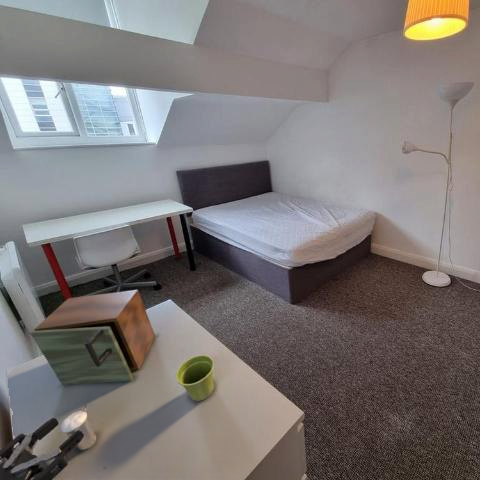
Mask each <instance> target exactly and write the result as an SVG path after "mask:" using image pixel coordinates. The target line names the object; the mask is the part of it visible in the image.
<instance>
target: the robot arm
mask: <svg viewBox="0 0 480 480" xmlns="http://www.w3.org/2000/svg"><path fill="white" fill-rule="evenodd" d="M59 424H60V422H59V420H58V418H56V417H51V418H50V419H48V420H46V421H45V422H44V423H43V424H41V426H39V427H38V428H37V429H36V430H34V431H33V432H30V433H28V434H24V433H20V434H18V435H17V436H16V437H14V438H13V439H12V440H11V441H9V442H8V443H7V444H5V446H4V447H3V448H1V449H0V480H54V478H56V477H57V476H58V475H59V474H60V473H61V472H63V470H64V469H65V468H67V467H68V465H69V462H68V461H67V456H68V454H69V453H71V451H72V450H73V449H75V448H76V447H77V446H76V445H77V444H78V443H80V442H81V440H82V438H83V437H84V434H83V433H82V431H80V430H77V431H76V432H75V433H74V434H73V435H71V436H70V437H69V438H68V437H67V439H66V440H65V441H63V443H61V444H60V445H59V446H58V449H55V450H53V451H51V452H49V453H47V454H43V453H42V454H41V455H38V456H37V455H36V454H33V450H34V448H35V447H36V445H37V443H38V442H39V441H41V440H43V439H44V438H45V437H46V436H47V435H48V434H50V433H51V432H52V431H53V430H54V429H55V428H57V427H58V426H59Z"/></svg>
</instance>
